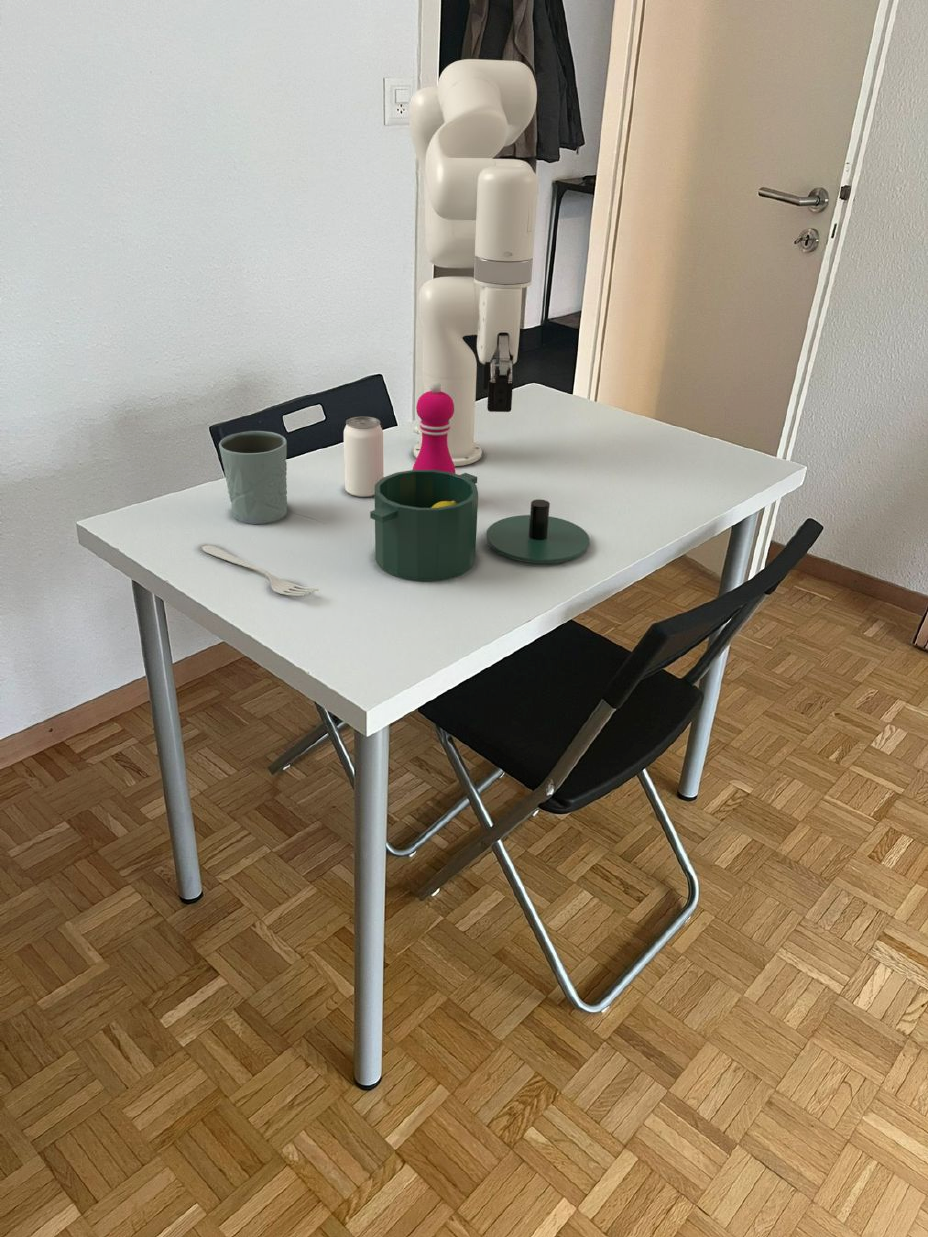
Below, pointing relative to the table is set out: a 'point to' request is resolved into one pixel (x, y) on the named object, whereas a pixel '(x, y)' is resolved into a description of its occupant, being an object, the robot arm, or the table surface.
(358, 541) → the table surface
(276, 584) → the fork
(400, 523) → the pot
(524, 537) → the lid
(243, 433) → the grey-green cup
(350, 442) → the can
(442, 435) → the pepper mill
